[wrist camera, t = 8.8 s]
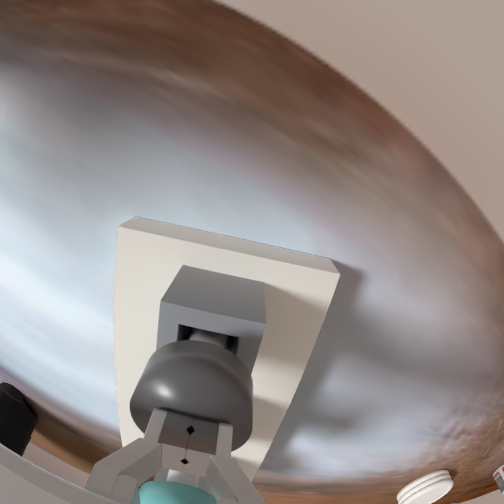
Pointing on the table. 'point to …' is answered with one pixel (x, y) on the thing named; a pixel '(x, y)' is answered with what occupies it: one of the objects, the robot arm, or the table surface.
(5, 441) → the portable speaker
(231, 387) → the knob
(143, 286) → the mount panel
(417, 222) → the table surface
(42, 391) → the table surface
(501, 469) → the pill bottle
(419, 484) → the white jar lid
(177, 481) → the teal dial
